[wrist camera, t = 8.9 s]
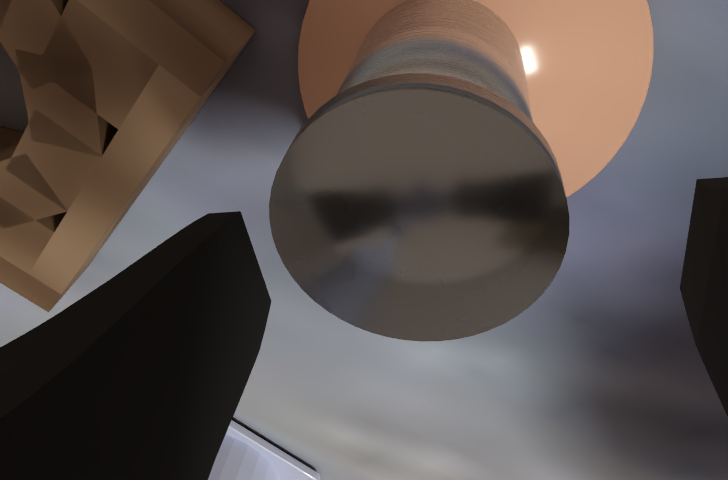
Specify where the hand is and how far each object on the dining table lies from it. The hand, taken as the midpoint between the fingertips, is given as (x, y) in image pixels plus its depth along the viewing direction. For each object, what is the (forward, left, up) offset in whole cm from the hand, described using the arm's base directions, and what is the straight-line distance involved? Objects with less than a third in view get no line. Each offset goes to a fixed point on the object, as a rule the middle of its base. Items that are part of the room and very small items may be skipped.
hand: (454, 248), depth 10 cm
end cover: (0, +1, -7) cm, 7 cm away
